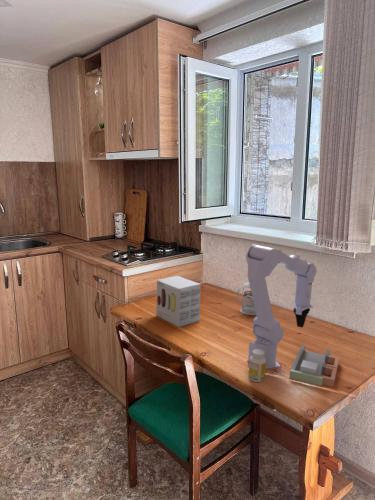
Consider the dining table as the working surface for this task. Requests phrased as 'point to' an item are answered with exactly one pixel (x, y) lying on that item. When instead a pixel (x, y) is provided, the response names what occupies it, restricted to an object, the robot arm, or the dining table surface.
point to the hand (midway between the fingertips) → (300, 326)
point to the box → (322, 368)
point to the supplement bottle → (257, 365)
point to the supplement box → (178, 300)
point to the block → (309, 367)
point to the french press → (247, 308)
